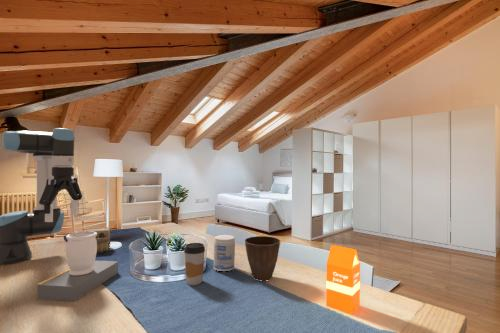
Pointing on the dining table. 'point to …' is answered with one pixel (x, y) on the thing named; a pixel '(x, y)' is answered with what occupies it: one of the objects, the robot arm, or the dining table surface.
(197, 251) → the coffee cup
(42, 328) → the dining table surface
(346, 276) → the orange juice
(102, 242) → the wicker basket
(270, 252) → the plant pot
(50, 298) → the dock
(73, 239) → the jar
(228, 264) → the supplement tub
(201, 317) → the dining table surface
